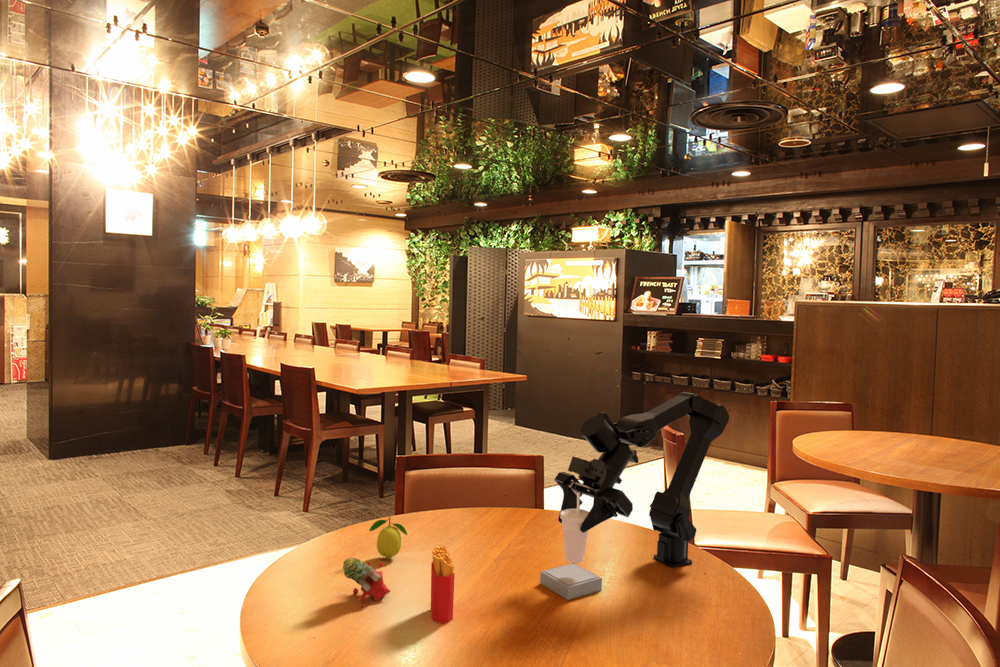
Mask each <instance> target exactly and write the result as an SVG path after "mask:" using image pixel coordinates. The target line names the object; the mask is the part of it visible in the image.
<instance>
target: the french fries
mask: <svg viewBox="0 0 1000 667" xmlns="http://www.w3.org/2000/svg"><path fill="white" fill-rule="evenodd" d="M431 554H432V562H431V565H430V566H431V569H430V570H431V572H430V575H431V576H430V577H431V578H430V580H431V581H430V616H431V620H432V621H433V622H435V623H437V624H445V623H446V624H447V623H450V622H451V621H452V620H454V615H453V614H454V600H455V599H454V597H455V596H454V595H455V575H456V574H455V572H454V566H455V565H454V563H453V562H454V561H453V558H452V557H451V556H450V551H449V550H448V549H446V546H445V545H440V546H438V545H436V547H433V548H432V549H431Z"/></svg>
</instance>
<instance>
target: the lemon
mask: <svg viewBox="0 0 1000 667" xmlns="http://www.w3.org/2000/svg"><path fill="white" fill-rule="evenodd" d="M388 516H389V517H388V519H378V520H376V521H375V522H373V524H371V526H370V528H369V530H368V532H373V531H375V530H377V529H378V528H380V527H381V526H383V525H384V524H386V523H387V521H388V525H387V526H385V527H383V528H382V529H381V530H380V531H379V534H378V535H377V539H376V549H377V552H378V554H379V555H380V556H381V557H385V558H386V559H387V560H391V559H392V558H393V557H394V556H397V554H399V552H400V551H401V548H402V536H401V533H400V532H402V533H403V534H404V535H406V536H408V532H407V530H406V528H405V527H404V526H403V525H402V524H400V523H392V522H391V515H388ZM391 524H392V525H391Z"/></svg>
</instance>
